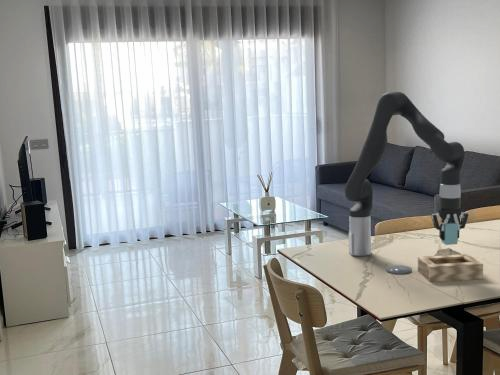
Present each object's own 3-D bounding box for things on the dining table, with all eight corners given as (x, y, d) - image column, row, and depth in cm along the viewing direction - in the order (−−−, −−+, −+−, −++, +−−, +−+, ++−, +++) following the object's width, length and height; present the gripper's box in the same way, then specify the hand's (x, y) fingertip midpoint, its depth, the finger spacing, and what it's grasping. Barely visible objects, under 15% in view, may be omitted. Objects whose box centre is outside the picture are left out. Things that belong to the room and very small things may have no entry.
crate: (429, 281, 218) (429, 266, 217) (417, 271, 232) (417, 256, 231) (482, 278, 219) (483, 263, 218) (467, 268, 232) (467, 254, 232)
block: (445, 244, 221) (445, 224, 220) (441, 241, 226) (441, 221, 224) (457, 244, 221) (457, 223, 220) (452, 241, 226) (453, 221, 224)
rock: (457, 265, 237) (457, 255, 237) (431, 261, 244) (431, 251, 244) (466, 259, 246) (467, 249, 245) (440, 255, 253) (440, 246, 252)
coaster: (389, 275, 228) (389, 273, 228) (383, 267, 238) (383, 265, 238) (415, 273, 229) (415, 271, 229) (407, 266, 239) (407, 264, 238)
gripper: (434, 198, 217) (434, 243, 219) (472, 196, 217) (471, 241, 220) (427, 194, 224) (427, 238, 227) (464, 193, 224) (463, 236, 227)
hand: (449, 239), depth 223 cm, fingers closed on block, 4 cm apart
